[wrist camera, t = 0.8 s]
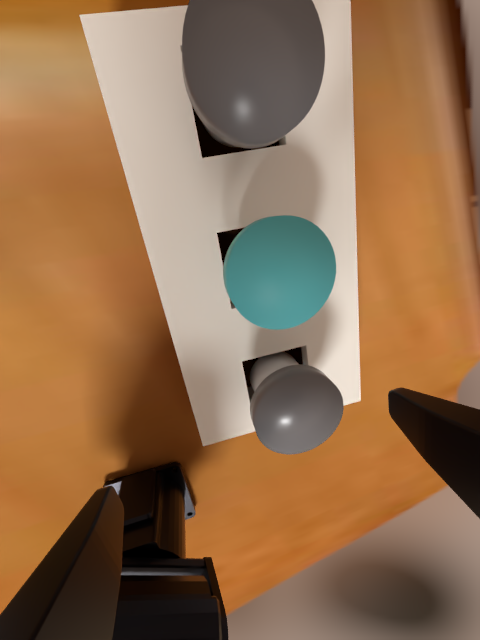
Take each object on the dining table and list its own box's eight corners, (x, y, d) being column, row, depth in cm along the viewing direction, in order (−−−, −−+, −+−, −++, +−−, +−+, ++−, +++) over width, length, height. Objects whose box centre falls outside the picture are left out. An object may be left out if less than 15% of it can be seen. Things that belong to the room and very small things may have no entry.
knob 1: (287, 156, 16) (329, 130, 11) (195, 171, 15) (201, 150, 11) (275, 36, 14) (319, -50, 9) (169, 47, 13) (163, -40, 9)
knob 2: (311, 395, 21) (345, 439, 17) (245, 413, 21) (262, 464, 16) (305, 332, 19) (341, 364, 15) (232, 350, 19) (247, 389, 14)
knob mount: (333, 374, 25) (360, 400, 21) (199, 410, 23) (202, 446, 20) (312, 42, 17) (350, -10, 13) (103, 65, 15) (79, 14, 11)
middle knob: (301, 293, 18) (338, 316, 14) (223, 311, 18) (238, 340, 13) (293, 209, 17) (333, 205, 12) (206, 226, 16) (216, 227, 12)
